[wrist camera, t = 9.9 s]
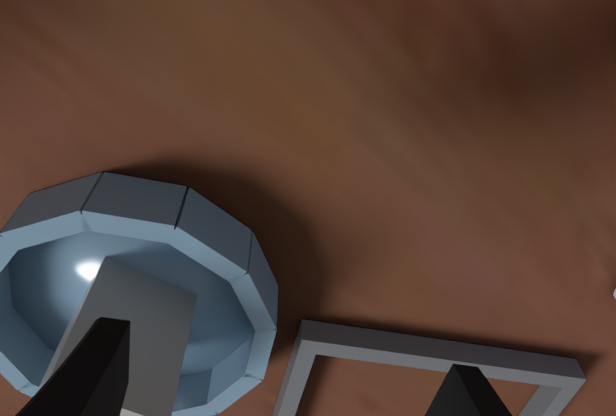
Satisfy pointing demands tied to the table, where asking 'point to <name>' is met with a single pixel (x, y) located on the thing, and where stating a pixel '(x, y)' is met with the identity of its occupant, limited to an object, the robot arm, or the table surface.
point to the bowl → (148, 259)
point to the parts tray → (429, 363)
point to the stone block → (137, 333)
